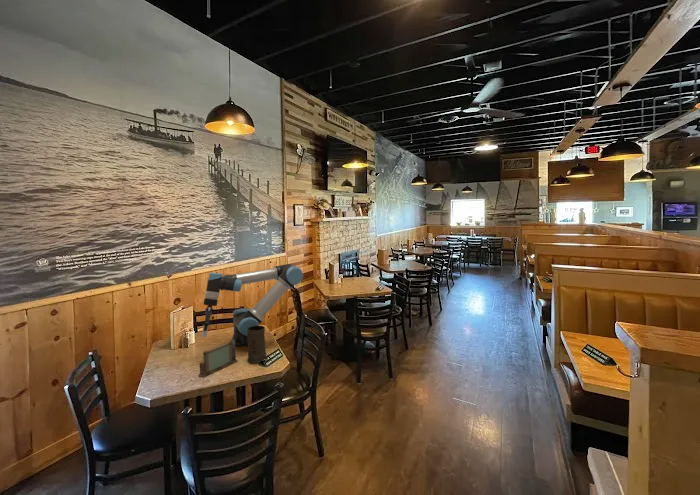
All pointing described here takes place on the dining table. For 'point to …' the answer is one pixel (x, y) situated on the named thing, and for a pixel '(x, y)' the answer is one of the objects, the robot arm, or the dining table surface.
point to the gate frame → (203, 366)
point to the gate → (218, 356)
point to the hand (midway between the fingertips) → (204, 335)
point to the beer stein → (256, 344)
